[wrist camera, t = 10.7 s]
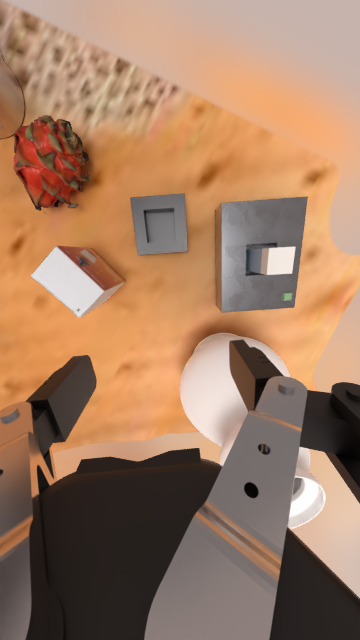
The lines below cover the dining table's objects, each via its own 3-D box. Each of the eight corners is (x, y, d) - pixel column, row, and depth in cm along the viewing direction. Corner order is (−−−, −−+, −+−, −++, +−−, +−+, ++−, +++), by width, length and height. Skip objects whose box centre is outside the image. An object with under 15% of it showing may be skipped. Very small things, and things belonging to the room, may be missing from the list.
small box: (126, 281, 36) (106, 292, 26) (105, 302, 37) (79, 319, 27) (91, 247, 34) (55, 243, 24) (71, 269, 35) (28, 276, 25)
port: (215, 210, 32) (222, 202, 27) (288, 205, 32) (309, 195, 27) (216, 305, 37) (222, 313, 32) (279, 300, 37) (296, 308, 32)
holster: (134, 202, 31) (130, 197, 29) (183, 199, 31) (184, 193, 29) (141, 254, 34) (137, 255, 31) (186, 251, 34) (187, 251, 31)
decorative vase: (177, 321, 38) (178, 432, 14) (268, 318, 38) (418, 422, 14) (180, 396, 44) (185, 564, 20) (259, 393, 44) (357, 556, 20)
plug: (242, 249, 33) (269, 248, 24) (261, 248, 33) (295, 246, 24) (241, 269, 34) (266, 275, 25) (260, 268, 34) (292, 273, 25)
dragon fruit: (96, 143, 30) (67, 214, 35) (29, 86, 24) (4, 180, 29) (106, 152, 25) (70, 233, 30) (24, 82, 19) (-6, 197, 24)
